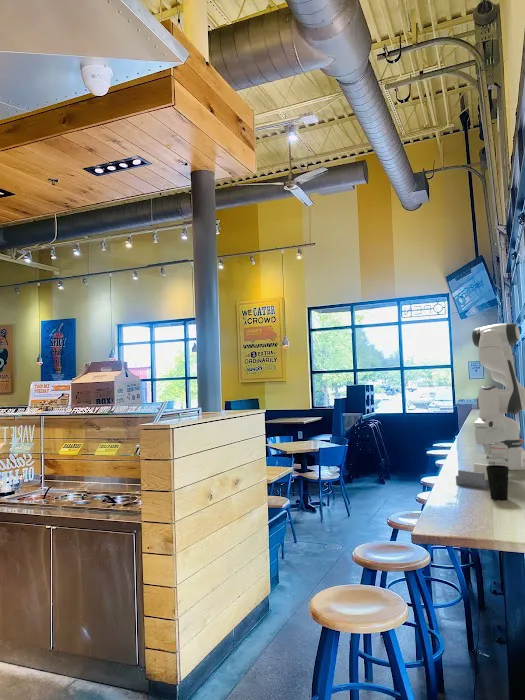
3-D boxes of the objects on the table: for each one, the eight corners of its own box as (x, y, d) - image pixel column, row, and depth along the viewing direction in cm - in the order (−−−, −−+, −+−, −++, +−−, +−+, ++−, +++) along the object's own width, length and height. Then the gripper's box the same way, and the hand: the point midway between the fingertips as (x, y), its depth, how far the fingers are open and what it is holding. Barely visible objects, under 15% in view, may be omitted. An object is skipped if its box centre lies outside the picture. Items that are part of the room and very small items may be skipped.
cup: (513, 501, 186) (511, 468, 187) (490, 501, 188) (488, 468, 188) (507, 497, 194) (505, 465, 194) (485, 496, 195) (484, 465, 196)
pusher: (476, 479, 227) (475, 463, 227) (499, 482, 219) (498, 465, 219) (470, 480, 224) (469, 464, 224) (493, 484, 216) (492, 467, 216)
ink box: (506, 471, 226) (507, 444, 227) (507, 473, 222) (508, 445, 222) (485, 469, 229) (486, 443, 230) (486, 471, 225) (486, 444, 225)
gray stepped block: (475, 478, 229) (474, 465, 230) (505, 482, 219) (504, 468, 219) (456, 484, 219) (455, 470, 220) (486, 488, 209) (485, 473, 209)
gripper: (494, 419, 237) (496, 450, 236) (471, 423, 224) (473, 455, 223) (508, 420, 232) (510, 451, 231) (485, 424, 219) (487, 456, 218)
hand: (492, 453), depth 227 cm, fingers closed on ink box, 6 cm apart
